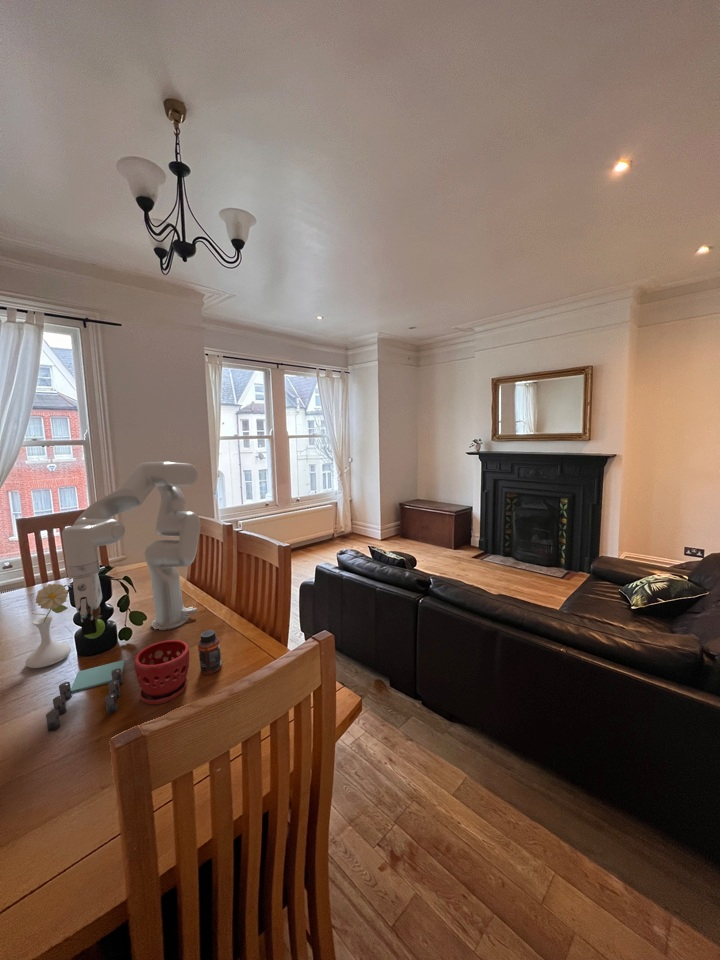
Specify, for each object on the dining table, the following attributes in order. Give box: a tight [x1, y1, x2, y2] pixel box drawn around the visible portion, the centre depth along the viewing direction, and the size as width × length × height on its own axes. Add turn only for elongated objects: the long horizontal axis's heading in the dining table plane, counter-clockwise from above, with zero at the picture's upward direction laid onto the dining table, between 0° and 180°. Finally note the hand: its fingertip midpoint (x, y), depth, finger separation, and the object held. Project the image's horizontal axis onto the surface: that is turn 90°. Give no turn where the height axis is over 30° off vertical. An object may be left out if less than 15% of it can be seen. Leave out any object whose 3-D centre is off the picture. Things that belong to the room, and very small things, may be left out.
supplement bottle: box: [197, 629, 223, 675], centre depth 114 cm, size 6×6×11 cm
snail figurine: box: [79, 606, 106, 639], centre depth 111 cm, size 5×6×12 cm
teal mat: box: [71, 659, 126, 694], centre depth 113 cm, size 12×10×1 cm
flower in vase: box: [24, 583, 72, 669], centre depth 121 cm, size 13×11×25 cm
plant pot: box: [134, 639, 190, 705], centre depth 104 cm, size 13×13×12 cm
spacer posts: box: [45, 668, 124, 733], centre depth 101 cm, size 14×14×4 cm
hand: (91, 628), depth 111 cm, fingers closed on snail figurine, 5 cm apart
